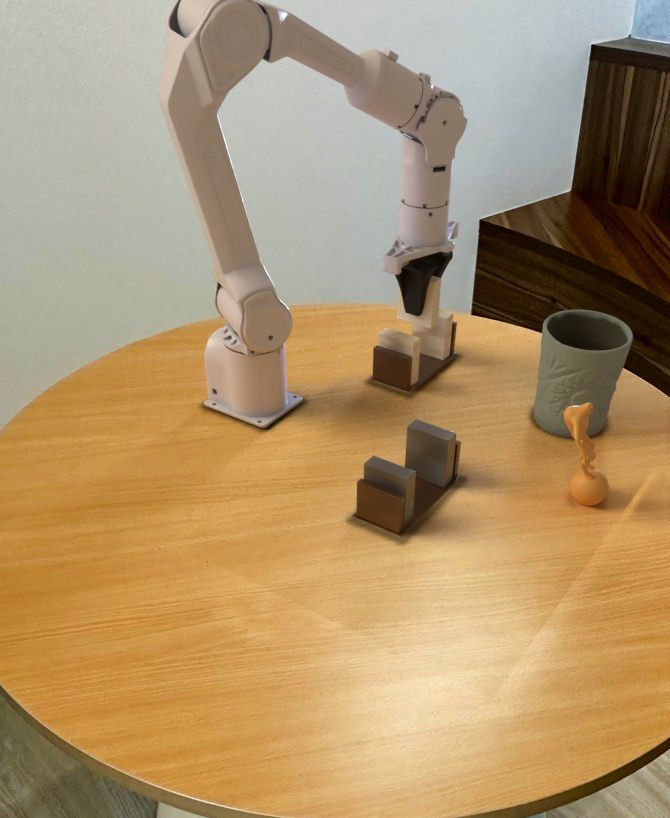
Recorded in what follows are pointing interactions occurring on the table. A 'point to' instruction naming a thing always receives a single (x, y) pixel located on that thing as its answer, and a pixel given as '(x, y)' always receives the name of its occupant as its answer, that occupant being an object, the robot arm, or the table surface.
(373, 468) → the brown book rack
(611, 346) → the grey green cup
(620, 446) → the table surface
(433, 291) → the white book
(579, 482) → the figurine
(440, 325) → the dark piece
